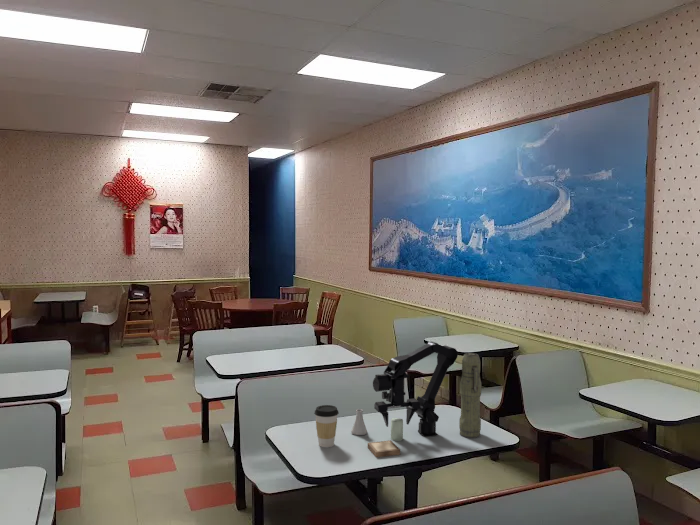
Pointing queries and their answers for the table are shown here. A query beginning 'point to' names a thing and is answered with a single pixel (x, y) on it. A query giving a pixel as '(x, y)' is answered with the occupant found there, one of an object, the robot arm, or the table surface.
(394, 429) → the sage capsule
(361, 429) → the flask
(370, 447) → the plinth
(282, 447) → the table surface
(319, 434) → the coffee cup
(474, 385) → the stone statue
